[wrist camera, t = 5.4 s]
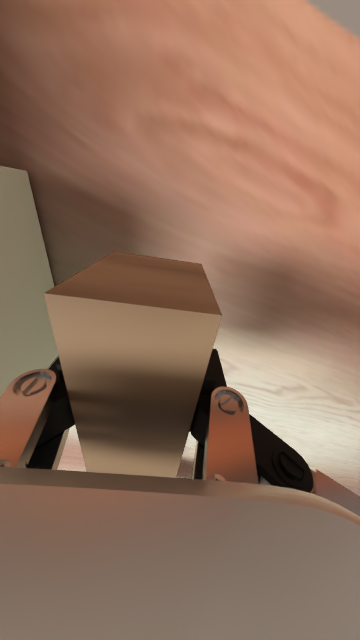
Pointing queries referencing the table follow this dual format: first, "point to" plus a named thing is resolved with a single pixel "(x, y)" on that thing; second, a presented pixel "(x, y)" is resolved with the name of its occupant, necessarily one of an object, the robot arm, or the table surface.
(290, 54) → the table surface
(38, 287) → the door
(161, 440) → the walnut block
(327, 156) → the table surface
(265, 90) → the table surface
